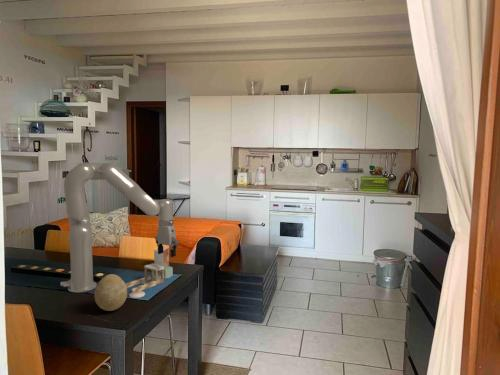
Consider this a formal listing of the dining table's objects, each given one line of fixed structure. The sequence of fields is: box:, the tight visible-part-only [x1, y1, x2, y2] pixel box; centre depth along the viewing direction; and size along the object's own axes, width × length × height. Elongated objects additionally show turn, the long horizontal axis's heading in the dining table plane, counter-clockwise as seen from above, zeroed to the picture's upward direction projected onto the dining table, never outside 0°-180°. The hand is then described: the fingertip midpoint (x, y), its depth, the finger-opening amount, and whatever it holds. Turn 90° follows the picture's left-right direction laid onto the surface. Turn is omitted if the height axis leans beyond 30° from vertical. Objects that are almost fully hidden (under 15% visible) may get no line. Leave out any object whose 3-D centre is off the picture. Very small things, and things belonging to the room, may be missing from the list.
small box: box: [153, 246, 170, 266], centre depth 206 cm, size 8×6×10 cm
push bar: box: [140, 272, 161, 285], centre depth 184 cm, size 12×4×2 cm, turn 145°
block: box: [158, 265, 174, 280], centre depth 190 cm, size 5×5×5 cm
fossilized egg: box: [93, 273, 128, 312], centre depth 150 cm, size 13×13×15 cm
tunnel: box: [125, 262, 165, 292], centre depth 177 cm, size 18×9×8 cm, turn 144°
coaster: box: [128, 290, 146, 299], centre depth 166 cm, size 7×7×1 cm
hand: (166, 255), depth 189 cm, fingers open, 9 cm apart
